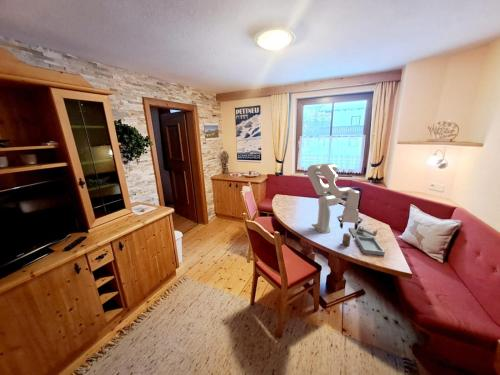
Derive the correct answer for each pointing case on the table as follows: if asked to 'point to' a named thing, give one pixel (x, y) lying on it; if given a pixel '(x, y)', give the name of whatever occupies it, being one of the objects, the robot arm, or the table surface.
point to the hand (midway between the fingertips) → (348, 228)
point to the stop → (346, 239)
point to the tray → (369, 245)
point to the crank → (367, 231)
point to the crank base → (359, 233)
